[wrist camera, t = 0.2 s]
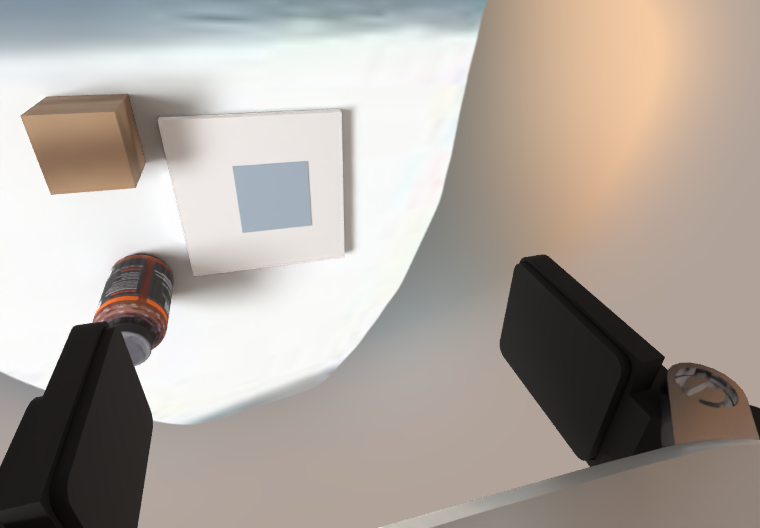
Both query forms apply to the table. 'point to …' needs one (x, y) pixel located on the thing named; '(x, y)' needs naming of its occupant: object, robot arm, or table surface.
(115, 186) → the walnut cube
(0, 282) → the table surface
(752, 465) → the robot arm
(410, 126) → the table surface
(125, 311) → the supplement bottle
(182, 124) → the plate
